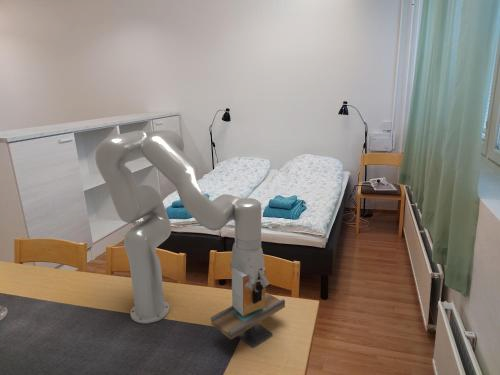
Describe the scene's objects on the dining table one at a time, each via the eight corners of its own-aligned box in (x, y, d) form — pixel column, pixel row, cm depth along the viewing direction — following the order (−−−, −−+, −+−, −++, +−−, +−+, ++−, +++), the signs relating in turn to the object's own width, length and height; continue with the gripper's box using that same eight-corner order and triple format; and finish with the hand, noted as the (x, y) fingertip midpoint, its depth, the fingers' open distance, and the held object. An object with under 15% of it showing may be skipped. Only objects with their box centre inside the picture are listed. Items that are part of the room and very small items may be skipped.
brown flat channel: (211, 324, 106) (211, 317, 106) (264, 295, 121) (264, 288, 120) (230, 339, 100) (230, 332, 99) (284, 307, 114) (284, 300, 114)
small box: (243, 316, 105) (242, 276, 101) (231, 306, 110) (230, 267, 106) (265, 307, 109) (266, 268, 106) (253, 297, 114) (253, 260, 111)
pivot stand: (227, 328, 114) (226, 313, 112) (246, 317, 119) (246, 303, 117) (253, 348, 105) (253, 332, 104) (272, 335, 110) (272, 320, 109)
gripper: (218, 236, 107) (220, 289, 112) (259, 256, 95) (259, 314, 100) (238, 229, 112) (239, 280, 117) (279, 247, 100) (278, 303, 105)
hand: (248, 296), depth 109 cm, fingers closed on small box, 6 cm apart
